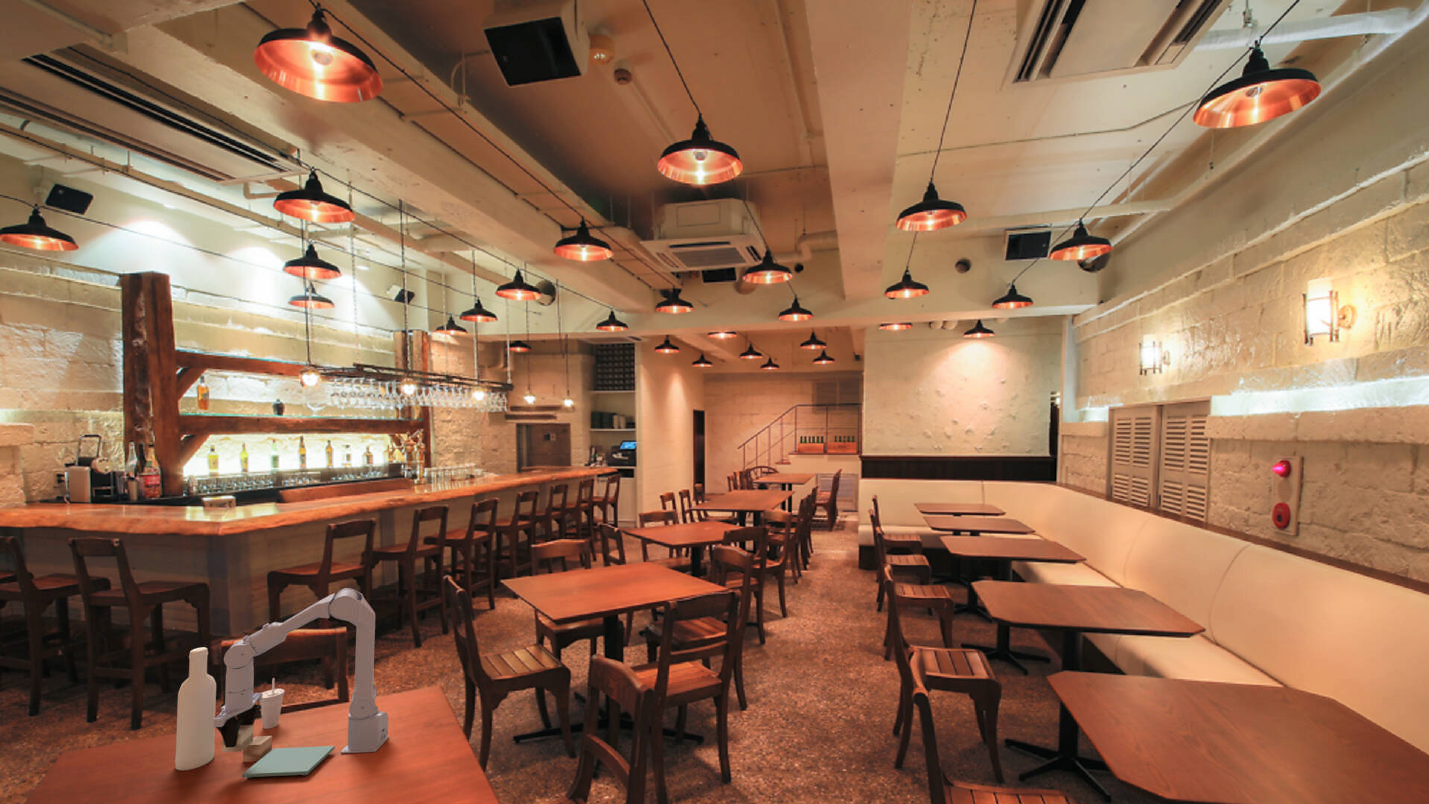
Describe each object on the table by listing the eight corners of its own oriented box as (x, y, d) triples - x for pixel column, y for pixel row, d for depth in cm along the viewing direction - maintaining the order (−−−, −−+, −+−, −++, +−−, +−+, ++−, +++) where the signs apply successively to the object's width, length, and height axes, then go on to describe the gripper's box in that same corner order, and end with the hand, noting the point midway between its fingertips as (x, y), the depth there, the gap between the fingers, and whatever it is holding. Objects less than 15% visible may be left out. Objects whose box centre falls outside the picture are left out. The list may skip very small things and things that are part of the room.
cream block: (253, 742, 155) (253, 724, 155) (240, 751, 150) (241, 733, 151) (235, 742, 155) (235, 725, 155) (222, 752, 150) (222, 734, 150)
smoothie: (269, 732, 173) (270, 684, 173) (251, 730, 174) (253, 682, 175) (289, 721, 179) (290, 675, 180) (271, 719, 180) (273, 673, 181)
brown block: (271, 752, 162) (272, 735, 162) (260, 761, 158) (260, 744, 158) (254, 753, 162) (255, 736, 162) (242, 762, 157) (243, 745, 158)
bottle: (213, 764, 156) (216, 650, 158) (173, 774, 152) (177, 657, 153) (215, 751, 163) (218, 641, 164) (177, 761, 158) (181, 648, 159)
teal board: (334, 752, 162) (334, 745, 162) (307, 778, 150) (307, 771, 150) (273, 755, 161) (274, 748, 161) (241, 781, 149) (242, 774, 149)
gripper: (243, 677, 160) (242, 727, 160) (201, 702, 146) (199, 757, 145) (270, 676, 161) (269, 726, 160) (231, 700, 146) (229, 756, 146)
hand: (238, 741), depth 153 cm, fingers closed on cream block, 4 cm apart
